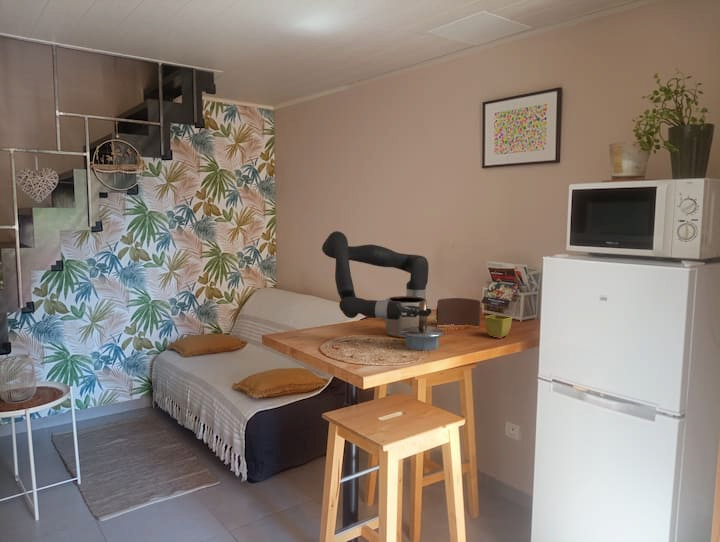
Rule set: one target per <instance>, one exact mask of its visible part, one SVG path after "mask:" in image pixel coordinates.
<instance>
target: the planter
mask: <svg viewBox="0 0 720 542" xmlns="http://www.w3.org/2000/svg"><path fill="white" fill-rule="evenodd" d="M385 300H387V301H399V302H400V303H401V307H404V306H405V305H408V306H409V305H411V306H418V307H419V301H427V299H424V298H420V297H411V296H405V295H404V296H403V295H399V296H390V297H387V298H386V299H385ZM417 310H418V309H417ZM407 327H419V316H418V317H402V315H401V316H400V318H399V320H393V319H385V333H386V334H387V336H389V337H393V338H400V339H406V336H405V335H403V334H401V330H402V329H403V328H407Z"/></svg>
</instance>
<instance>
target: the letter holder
mask: <svg viewBox="0 0 720 542" xmlns="http://www.w3.org/2000/svg"><path fill="white" fill-rule="evenodd" d="M435 319H436V320H437V324H436V326H437V325H445V324H446V325H449V324H450V325H451V324H454V325H466V324H467V325H474V326H480V327H481V301H480V300H478V299H474V298H463V297H448V298H440V299H438V300H437V306H436V315H435Z"/></svg>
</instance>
